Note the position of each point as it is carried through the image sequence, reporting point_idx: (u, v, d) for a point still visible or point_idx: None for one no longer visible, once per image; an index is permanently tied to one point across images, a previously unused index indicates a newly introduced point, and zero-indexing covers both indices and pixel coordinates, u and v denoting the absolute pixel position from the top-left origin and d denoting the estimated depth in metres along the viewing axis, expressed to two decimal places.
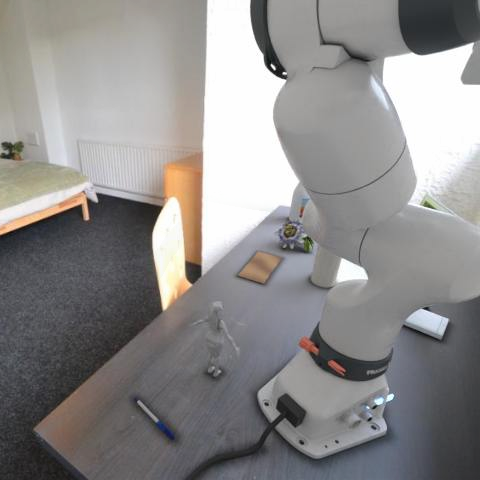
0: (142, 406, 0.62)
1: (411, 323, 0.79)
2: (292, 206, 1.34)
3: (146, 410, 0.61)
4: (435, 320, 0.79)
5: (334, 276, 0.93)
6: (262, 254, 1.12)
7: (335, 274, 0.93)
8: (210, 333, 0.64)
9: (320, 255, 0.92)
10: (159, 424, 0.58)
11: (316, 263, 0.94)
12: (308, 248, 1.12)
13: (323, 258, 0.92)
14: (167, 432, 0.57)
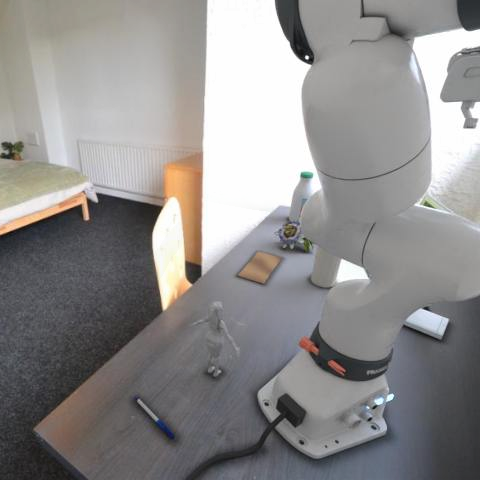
0: (142, 405, 0.62)
1: (411, 323, 0.79)
2: (292, 206, 1.34)
3: (146, 409, 0.61)
4: (435, 320, 0.79)
5: (334, 276, 0.93)
6: (262, 254, 1.12)
7: (335, 274, 0.93)
8: (210, 333, 0.64)
9: (320, 255, 0.92)
10: (159, 423, 0.58)
11: (316, 263, 0.94)
12: (308, 248, 1.12)
13: (323, 258, 0.92)
14: (167, 431, 0.57)
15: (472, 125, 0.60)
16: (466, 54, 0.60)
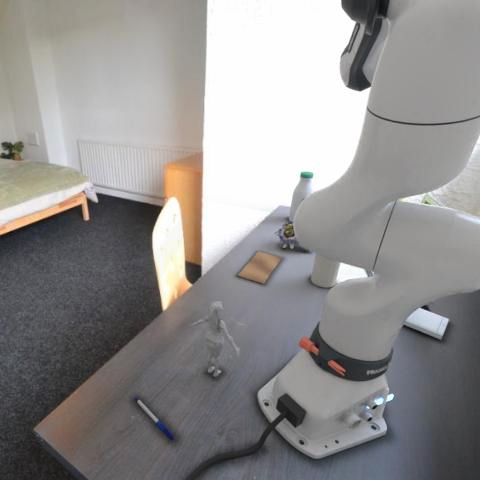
0: (142, 406, 0.62)
1: (411, 323, 0.79)
2: (292, 206, 1.34)
3: (146, 410, 0.61)
4: (435, 320, 0.79)
5: (334, 276, 0.93)
6: (262, 254, 1.12)
7: (335, 274, 0.93)
8: (210, 333, 0.64)
9: None
10: (159, 424, 0.58)
11: (316, 263, 0.94)
12: None
13: (323, 258, 0.92)
14: (166, 432, 0.57)
15: None
16: None
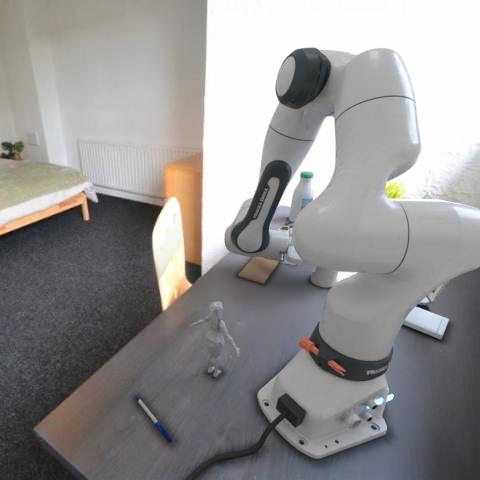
0: (142, 405, 0.62)
1: (411, 323, 0.79)
2: (292, 206, 1.34)
3: (146, 410, 0.61)
4: (435, 320, 0.79)
5: (334, 276, 0.93)
6: None
7: (335, 274, 0.93)
8: (210, 333, 0.64)
9: None
10: (157, 425, 0.58)
11: None
12: None
13: None
14: (165, 434, 0.57)
15: None
16: (284, 258, 0.90)
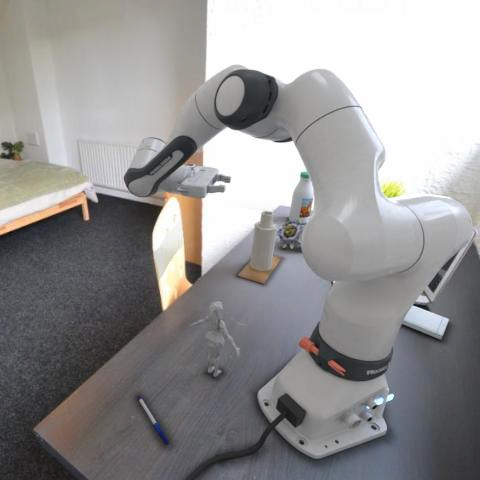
0: (143, 405, 0.62)
1: (411, 323, 0.79)
2: (292, 206, 1.34)
3: (146, 410, 0.61)
4: (435, 320, 0.79)
5: (268, 260, 1.01)
6: None
7: (269, 259, 1.01)
8: (210, 333, 0.64)
9: (255, 241, 1.00)
10: (156, 426, 0.58)
11: (252, 249, 1.02)
12: None
13: (257, 244, 1.00)
14: (162, 436, 0.57)
15: (223, 185, 0.94)
16: (178, 187, 0.95)
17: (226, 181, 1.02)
